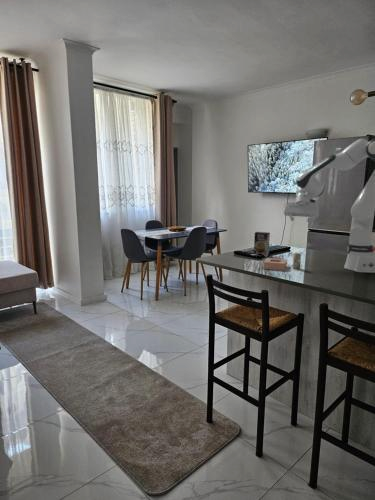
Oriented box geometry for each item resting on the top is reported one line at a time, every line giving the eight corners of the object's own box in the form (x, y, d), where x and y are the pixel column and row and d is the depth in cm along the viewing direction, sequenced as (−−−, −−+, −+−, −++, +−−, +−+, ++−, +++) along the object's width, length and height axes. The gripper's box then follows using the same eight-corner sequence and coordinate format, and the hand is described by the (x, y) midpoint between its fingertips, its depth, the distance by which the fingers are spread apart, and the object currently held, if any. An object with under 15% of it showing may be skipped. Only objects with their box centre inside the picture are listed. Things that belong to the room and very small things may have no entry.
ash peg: (300, 268, 200) (301, 253, 199) (299, 269, 197) (300, 254, 195) (293, 267, 202) (294, 252, 200) (292, 269, 198) (293, 253, 196)
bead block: (286, 265, 206) (286, 259, 205) (284, 270, 195) (285, 263, 194) (266, 264, 210) (266, 257, 209) (263, 268, 199) (263, 262, 198)
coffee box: (253, 255, 235) (254, 232, 232) (256, 254, 240) (256, 231, 237) (266, 257, 231) (267, 233, 228) (269, 255, 236) (270, 232, 233)
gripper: (284, 199, 214) (282, 216, 207) (319, 200, 207) (318, 218, 200) (284, 206, 219) (282, 223, 212) (319, 207, 212) (317, 225, 205)
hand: (300, 220), depth 206 cm, fingers open, 8 cm apart
